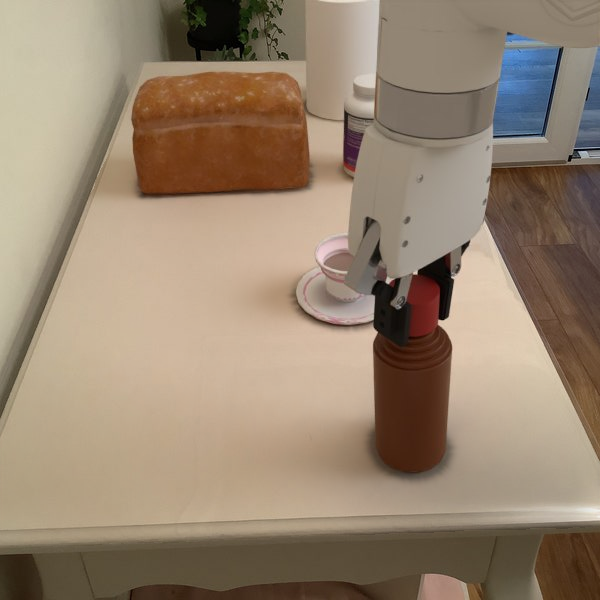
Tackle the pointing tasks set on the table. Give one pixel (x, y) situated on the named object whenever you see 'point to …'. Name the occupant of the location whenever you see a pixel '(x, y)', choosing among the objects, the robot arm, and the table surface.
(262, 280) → the table surface
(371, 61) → the canister
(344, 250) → the teacup
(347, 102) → the pill bottle
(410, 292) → the cap
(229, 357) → the table surface
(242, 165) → the bread
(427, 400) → the bottle
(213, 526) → the table surface
